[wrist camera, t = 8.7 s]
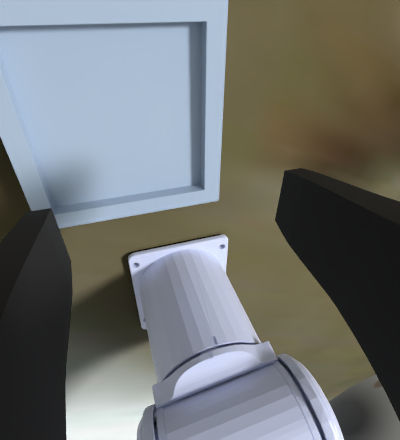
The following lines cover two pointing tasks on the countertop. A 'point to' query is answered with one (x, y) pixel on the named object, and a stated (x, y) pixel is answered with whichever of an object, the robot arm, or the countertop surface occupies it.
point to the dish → (113, 104)
